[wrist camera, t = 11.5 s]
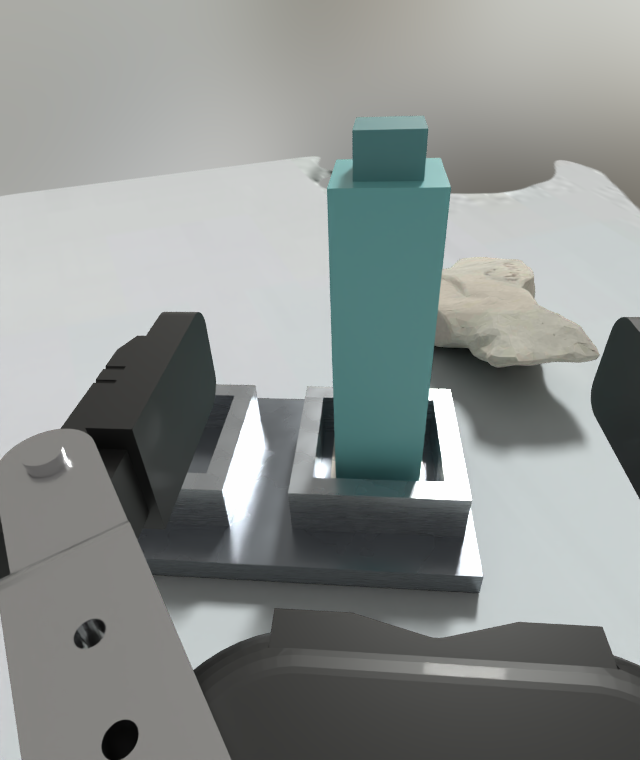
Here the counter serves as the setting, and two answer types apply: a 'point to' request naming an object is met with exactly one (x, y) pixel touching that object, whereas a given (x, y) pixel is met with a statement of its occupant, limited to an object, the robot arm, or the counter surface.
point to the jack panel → (316, 503)
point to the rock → (504, 316)
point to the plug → (384, 295)
